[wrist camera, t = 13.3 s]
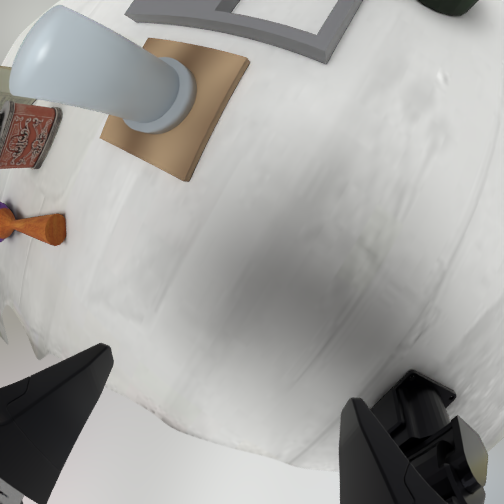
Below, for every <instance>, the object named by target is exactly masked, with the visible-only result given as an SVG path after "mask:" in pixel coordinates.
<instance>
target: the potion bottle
mask: <svg viewBox="0 0 504 504" xmlns="http://www.w3.org/2000/svg"><path fill="white" fill-rule="evenodd" d="M419 1H420V2H421V3H423V4H425V5H427V6H428V7H430V8H432V9H434V10H436V11H439V12H442V13H445V14H448V15H463V14H464V13H466V12H467V11H468V10H469V9H470V8H471V7H472V6H473V5H474V4H475V3H476V2H477V1H478V0H419Z"/></svg>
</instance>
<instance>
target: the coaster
mask: <svg viewBox="0 0 504 504" xmlns="http://www.w3.org/2000/svg"><path fill="white" fill-rule="evenodd" d="M143 49H145V50H147V51H148V52H150V53H151V54H153V55H155V56H156V57H158V58H159V57H169V58H173V59H175V60H177V61H179V62H180V63H181V64H183V65H184V66H185V67H187V68H188V69H189V70H190V71H191V72H192V73H193V75H194V77H195V79H196V83H197V94H196V99H195V102H194V104H193V107H192V109H191V111H190V112H189V114H188V115H187V116H186V118H185V119H184V120H183V121H182V122H181V123H180V124H179V125H178V126H176V127H175V128H173V129H172V130H170V131H168V132H165V133H162V134H148V133H145V132H141V131H137V130H134V129H132V128H130V127H129V126H128V125H127V124H126V123H125V122H124V120H123V118H120V117H116V116H113V115H109V116H108V118H107V121H106V123H105V126H104V128H103V131H102V133H101V136H100V138H101V139H103V140H105V141H107V142H109V143H111V144H113V145H115V146H117V147H119V148H121V149H123V150H125V151H126V152H128V153H130V154H132V155H134V156H136V157H138V158H140V159H142V160H144V161H146V162H148V163H150V164H152V165H154V166H156V167H158V168H159V169H161V170H163V171H165V172H167V173H169V174H171V175H173V176H175V177H177V178H178V179H180V180H182V181H189V180H190V178H191V176H192V174H193V171H194V169H195V167H196V165H197V163H198V161H199V158H200V156H201V154H202V152H203V150H204V148H205V146H206V144H207V142H208V140H209V138H210V136H211V134H212V132H213V130H214V128H215V126H216V124H217V122H218V120H219V118H220V116H221V114H222V112H223V110H224V108H225V106H226V104H227V102H228V101H229V99H230V97H231V95H232V93H233V91H234V90H235V88H236V86H237V84H238V82H239V81H240V79H241V77H242V75H243V74H244V72H245V70H246V68H247V67H248V65H249V63H250V61H249V60H248V58H246V57H243V56H239V55H236V54H232V53H228V52H224V51H220V50H216V49H212V48H207V47H203V46H198V45H193V44H188V43H182V42H176V41H170V40H163V39H155V38H148V39H147V41H146V42H145V44H144V46H143Z"/></svg>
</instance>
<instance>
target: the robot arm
mask: <svg viewBox="0 0 504 504" xmlns="http://www.w3.org/2000/svg"><path fill="white" fill-rule="evenodd" d="M113 363H114V360H113V356H112V351H111V348H110V346H108V345H106V344H103V343H99V344H97V345H95V346H93V347H90V348H88V349H86V350H84V351H82V352H80V353H78V354H76V355H74V356H72V357H70V358H67V359H65V360H63V361H61V362H59V363H57V364H55V365H53V366H51V367H49V368H46V369H44V370H42V371H40V372H38V373H36V374H33V375H31V377H27V378H25V379H23V380H20V381H18V382H16V383H13V384H11V385H8V386H5V387H2V388H0V504H23V502H22V499H23V497H24V495H25V496H26V497H28V498H30V499H31V500H33V501H34V502H36V503H38V504H47V501H48V499H49V497H50V495H51V492H52V490H53V488H54V486H55V484H56V481H57V479H58V477H59V475H60V473H61V470H62V468H63V466H64V464H65V462H66V460H67V458H68V456H69V454H70V452H71V450H72V448H73V446H74V444H75V442H76V440H77V438H78V436H79V434H80V433H81V431H82V429H83V427H84V425H85V423H86V421H87V419H88V417H89V416H90V414H91V412H92V410H93V408H94V406H95V405H96V403H97V401H98V399H99V397H100V395H101V393H102V391H103V388H104V386H105V383H106V381H107V379H108V376H109V374H110V372H111V369H112V367H113ZM411 376H413V377H411ZM410 377H411V378H410ZM451 396H452V397H451ZM455 398H456V393H455V392H454V391H452V390H450V389H449V388H447V387H445V386H443V385H441V384H439V383H437V382H435V381H433V380H432V379H430V378H428V377H426V376H424V375H422V374H420V373H418V372H417V371H414V370H411V371H409V372H408V373H407V374H406V375H405V376H404V377H403V378H402V379H401V380H400V381H399V382H398V383H397V384H396V385H395V386H394V388H393V389H391V390H390V391H389V392H388V393H387V394H386V395H385V396H384V397H383V398H382V399H381V400H380V401H379V402H378V403H377V404H376V405H375V406H374V407H373V408H372V409H371V410H370V409H369V407H368V406H367V405H366V403H365V402H364V401H363V400H362V399H361V398H350V399H349V401H348V402H347V404H346V405H345V407H344V408H343V410H342V413H341V424H340V440H339V469H340V504H484V500H485V491H484V489H483V486H485V483H486V476H487V463H488V454H487V451H486V449H485V447H484V445H483V442H482V440H481V438H480V436H479V435H478V434H477V433H476V432H475V431H474V430H473V429H472V428H471V427H470V426H469V425H468V424H467V423H466V422H465V421H464V420H463V419H461V418H460V417H459V416H458V415H457V416H456V417H454V418H453V419H452V420H451V422H450V419H449V416H448V414H447V411H446V408H447V407H448V406H449V405H450V404H451V403H452V402H453V401H454V400H455Z"/></svg>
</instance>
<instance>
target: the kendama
mask: <svg viewBox="0 0 504 504" xmlns="http://www.w3.org/2000/svg"><path fill="white" fill-rule="evenodd" d="M14 230H17V231H19V232H22V233H24V234H26V235H29V236H31V237H33V238H36V239H38V240H41V241H43V242H46V243H48V244H50V245H54V246H57V245H60V244H61V243H62V242H63V241H64V239H65V237H66V220H65V218H64V217H63V215H61V214H51V215H44V216H38V217H31V218H25V219H19V220H15V217H14V215H13V213H12V212H11V210H10V209H9V208H8V207H7V206H6V205H5V204H4V203H2V202H0V242H2V241H3V240H4V239H5V238H7V237H9V236H10V235H11V234H12V232H13V231H14Z"/></svg>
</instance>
